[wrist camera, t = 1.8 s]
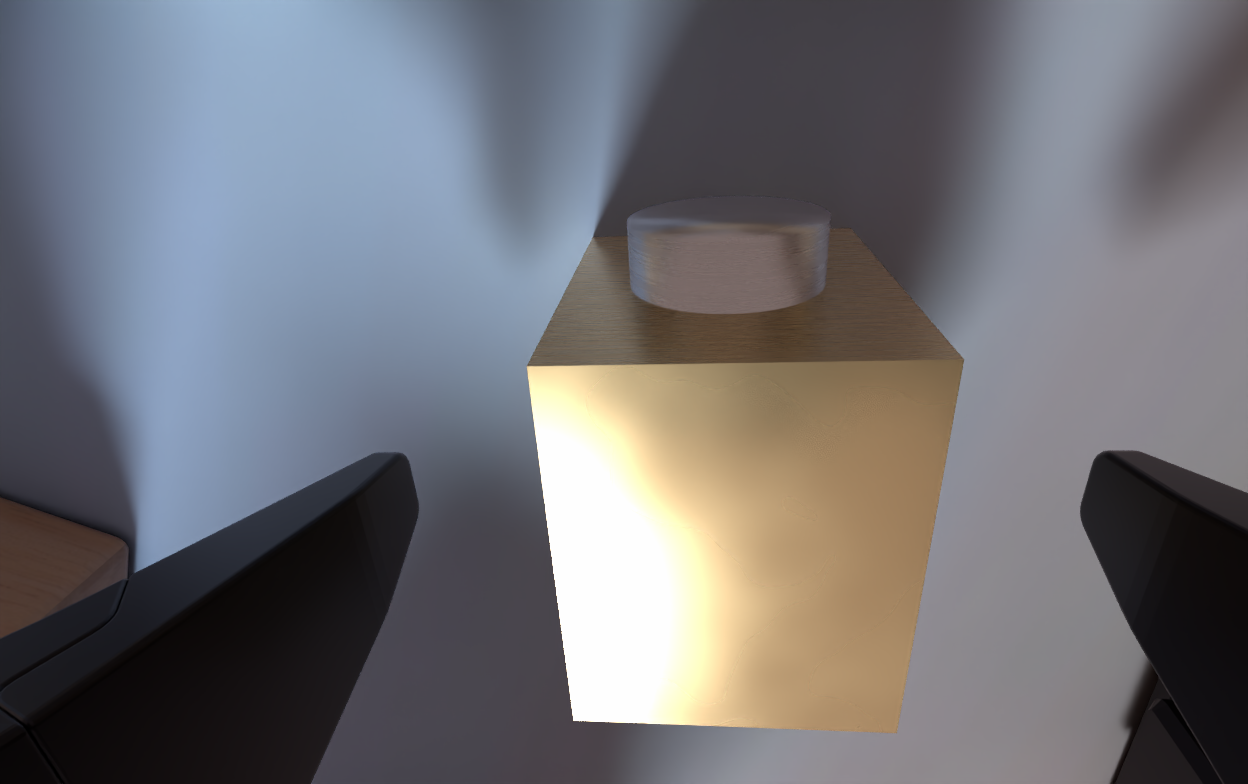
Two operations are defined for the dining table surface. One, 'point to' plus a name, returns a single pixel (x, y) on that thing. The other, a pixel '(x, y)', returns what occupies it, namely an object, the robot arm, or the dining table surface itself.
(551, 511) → the block
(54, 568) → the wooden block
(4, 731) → the robot arm
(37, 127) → the dining table surface
